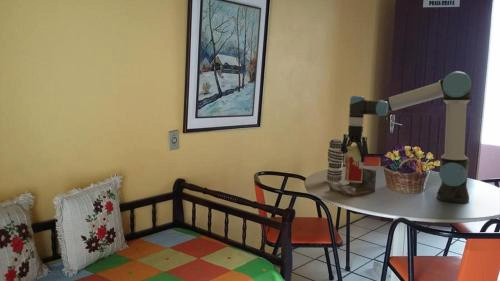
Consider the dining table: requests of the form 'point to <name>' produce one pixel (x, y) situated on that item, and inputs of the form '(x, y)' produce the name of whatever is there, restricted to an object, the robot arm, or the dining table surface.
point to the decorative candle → (335, 161)
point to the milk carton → (353, 165)
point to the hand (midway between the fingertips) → (353, 166)
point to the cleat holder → (357, 185)
